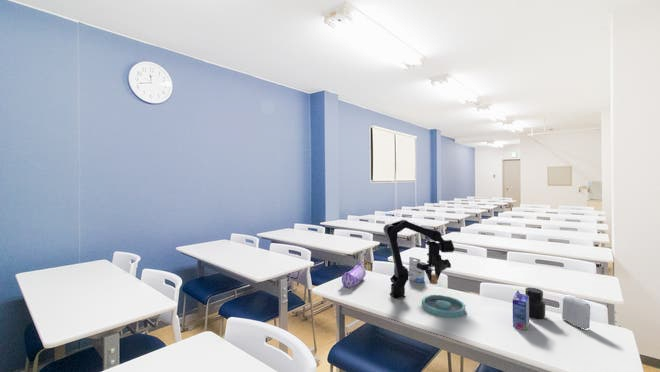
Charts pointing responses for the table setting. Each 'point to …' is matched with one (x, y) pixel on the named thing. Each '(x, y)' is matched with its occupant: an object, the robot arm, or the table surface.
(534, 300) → the ink bottle
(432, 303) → the round tray
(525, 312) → the ink cartridge box
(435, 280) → the wooden bead
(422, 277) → the ink box
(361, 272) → the pencil case
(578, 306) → the photo printer
